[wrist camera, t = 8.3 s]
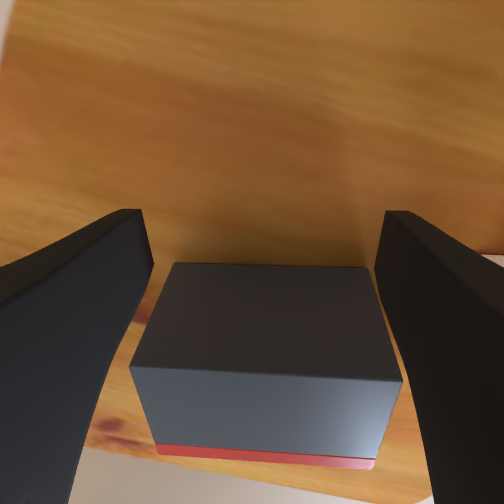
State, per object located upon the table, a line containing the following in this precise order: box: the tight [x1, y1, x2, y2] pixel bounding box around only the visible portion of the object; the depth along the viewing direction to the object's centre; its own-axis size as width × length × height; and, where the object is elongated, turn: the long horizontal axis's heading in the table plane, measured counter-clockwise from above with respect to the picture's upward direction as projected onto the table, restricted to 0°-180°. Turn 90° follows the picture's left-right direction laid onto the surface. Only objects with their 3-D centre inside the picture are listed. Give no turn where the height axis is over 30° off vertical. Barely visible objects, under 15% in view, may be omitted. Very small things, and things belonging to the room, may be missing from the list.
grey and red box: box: [129, 263, 403, 470], centre depth 17 cm, size 10×7×7 cm
